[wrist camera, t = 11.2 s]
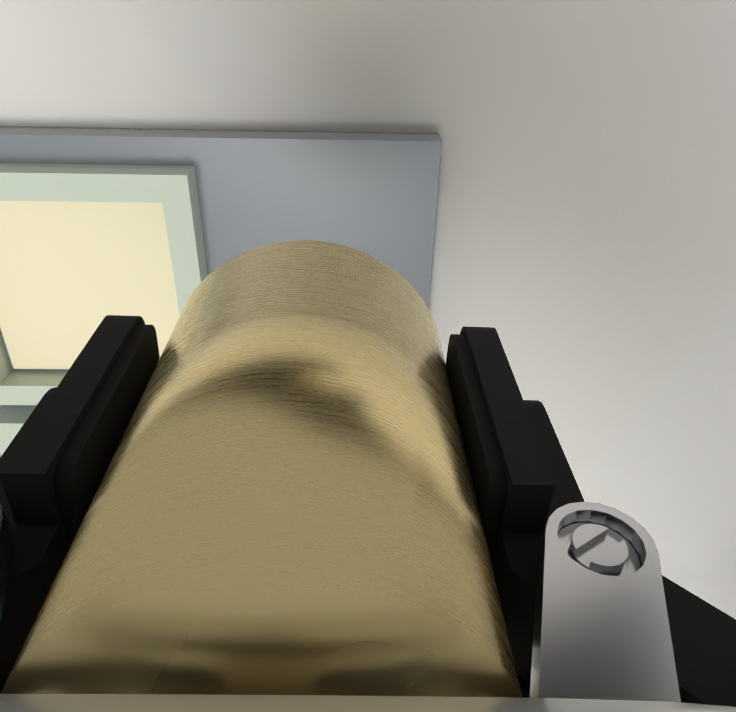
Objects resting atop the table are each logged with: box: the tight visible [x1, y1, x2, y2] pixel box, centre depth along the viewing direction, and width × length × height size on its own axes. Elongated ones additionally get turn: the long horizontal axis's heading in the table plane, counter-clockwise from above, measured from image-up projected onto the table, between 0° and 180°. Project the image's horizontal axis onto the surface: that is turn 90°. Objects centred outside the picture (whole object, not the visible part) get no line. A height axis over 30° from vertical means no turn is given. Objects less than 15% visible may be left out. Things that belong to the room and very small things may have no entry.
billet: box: [1, 240, 522, 698], centre depth 9 cm, size 5×5×7 cm
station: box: [0, 127, 442, 457], centre depth 26 cm, size 20×23×8 cm
